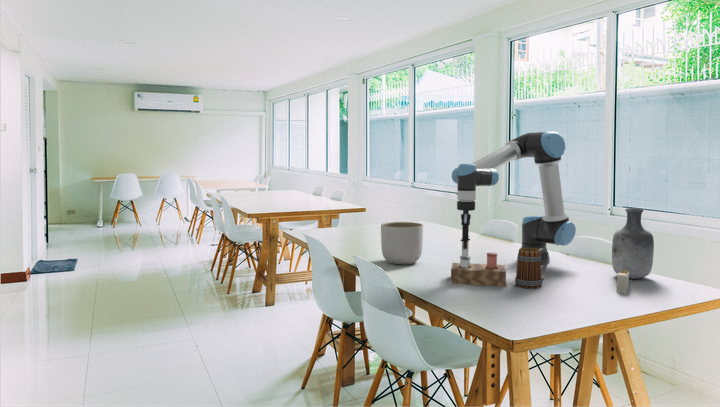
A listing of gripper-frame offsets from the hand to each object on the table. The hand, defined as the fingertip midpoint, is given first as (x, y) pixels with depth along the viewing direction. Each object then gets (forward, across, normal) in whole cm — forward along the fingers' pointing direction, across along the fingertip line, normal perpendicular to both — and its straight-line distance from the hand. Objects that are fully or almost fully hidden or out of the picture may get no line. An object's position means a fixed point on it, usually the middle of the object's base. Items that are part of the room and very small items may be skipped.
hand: (464, 256), depth 224 cm
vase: (+10, -21, +71) cm, 74 cm away
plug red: (+8, 0, +11) cm, 13 cm away
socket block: (+11, 0, +6) cm, 12 cm away
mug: (+11, +2, +28) cm, 30 cm away
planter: (+11, -31, -31) cm, 45 cm away
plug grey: (+9, 0, 0) cm, 9 cm away
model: (+11, +2, +62) cm, 63 cm away
